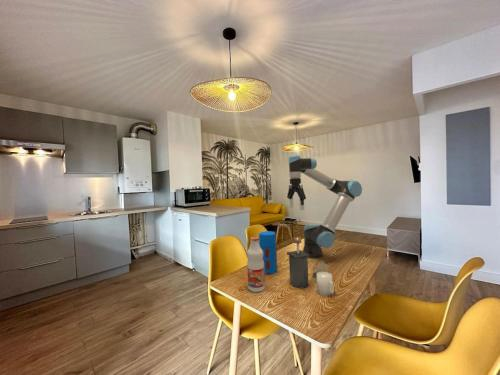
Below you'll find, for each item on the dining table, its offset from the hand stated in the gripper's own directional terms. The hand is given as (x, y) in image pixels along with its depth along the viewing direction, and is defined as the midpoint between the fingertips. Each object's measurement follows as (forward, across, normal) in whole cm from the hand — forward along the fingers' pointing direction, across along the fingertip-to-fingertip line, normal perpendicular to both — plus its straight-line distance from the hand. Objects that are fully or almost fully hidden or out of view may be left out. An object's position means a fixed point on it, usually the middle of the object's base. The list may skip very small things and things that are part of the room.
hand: (296, 209), depth 143 cm
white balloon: (+39, +37, -7) cm, 54 cm away
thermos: (+39, +1, -23) cm, 45 cm away
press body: (+39, +22, -14) cm, 47 cm away
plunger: (+31, +23, -14) cm, 41 cm away
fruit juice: (+39, +18, -38) cm, 57 cm away
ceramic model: (+39, +22, +2) cm, 45 cm away
